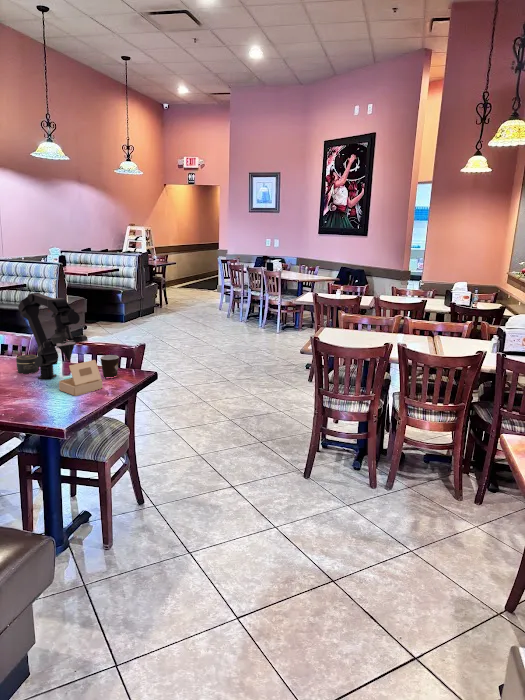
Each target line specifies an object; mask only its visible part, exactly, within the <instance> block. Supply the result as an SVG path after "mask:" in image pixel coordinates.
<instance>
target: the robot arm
mask: <svg viewBox="0 0 525 700" xmlns="http://www.w3.org/2000/svg"><path fill="white" fill-rule="evenodd" d="M41 306H44V307H46V308H47V310H49V312H51V313H52V314H51V315H50V318H53V319H54V326H55V329H54V334H53V335H51V336H50V340H48V338H47V335H46V332H45V330H44V328H43V325H42V322H41V320H40V316H39V314H40V307H41ZM17 308H18V311H19V313H20V315H21V316H22V317H23V318H24V319H26V320H27V322H28V324H29V327H30V331H31V332H32V335H33V336H34V339H35V342H36V345H37V347H38V349H37V353H36V354H37V355H36V356H38V357H37V359H36V360H35V365H36V366H38V367H39V368H40V369H39V370H40V375H39V376H38V377H37V379H38V380H40V379H41V380H52V379H53V378H55V377H57V374H54V366H55V365H58V361H59V353H58V351H57V348H58V349H59V350H60V351H61V352H62V353H63V355H64V356H65V358H66V359H67V361H70V360H71V359H72V355H73V352H74V351H73V350H74V347H75V346H76V345H77V344H78V343H84V342H88V337H87V335H86V334H83V335H76V336H74V337H73V335H72V333H71V330H72V327H70V326H72V325H77V324H78V323H79V322H80V319H81V318H80V315H79V313H78V312H77V311H75V308H72V306H71V305H70V303H68V301H67V299H65V298H63V297H56V298H54V297H50V296H48V295H45V294H42V293H41V292H33V293H32V292H31V293H29V294H28V295H27V296H26V297H24V298H23V299H22V300H21V301H20V302H19V304H18V307H17Z"/></svg>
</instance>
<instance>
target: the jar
mask: <svg viewBox="0 0 525 700" xmlns="http://www.w3.org/2000/svg"><path fill="white" fill-rule="evenodd" d="M37 357H38V355H36V354H22V355H19V356H17V357H16V359H15V363H16V370H17V373H19V374H20V373H23V374H22V375H30V374H29V373H32V374H36V373H37V372H38V371H39V368H40V367H38V366H36V365H35V360H36V359H37ZM35 372H36V373H35Z"/></svg>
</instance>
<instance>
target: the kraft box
mask: <svg viewBox="0 0 525 700" xmlns="http://www.w3.org/2000/svg"><path fill="white" fill-rule="evenodd" d="M58 385H59V389H58V390H59V391H61V392H63V393H66V394H69V395H72V396H73V397H74V396H75V397H77V396H81V395H84V394H89V393H91V391H92V392H95V390H96V391H99V390H102V389H101V388H103V387H104V386H103V378H101V379H98V380H94V381H90V382H86V383H82V384H79V385H75V383H74V380H73V377H70V378H65V379H62V380H61V379H60V380H59V382H58ZM98 389H99V390H98ZM88 392H89V393H88Z"/></svg>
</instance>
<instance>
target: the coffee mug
mask: <svg viewBox="0 0 525 700" xmlns="http://www.w3.org/2000/svg"><path fill="white" fill-rule="evenodd" d="M119 359H120V357H119V356H118V355H113V354H108V355H107V354H106V355H102V356H100V363H101V370H102V375H103V376H104V377H114V376H116V375H117V376H118V372H119V371H118V369H119ZM104 377H103V378H104Z"/></svg>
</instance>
